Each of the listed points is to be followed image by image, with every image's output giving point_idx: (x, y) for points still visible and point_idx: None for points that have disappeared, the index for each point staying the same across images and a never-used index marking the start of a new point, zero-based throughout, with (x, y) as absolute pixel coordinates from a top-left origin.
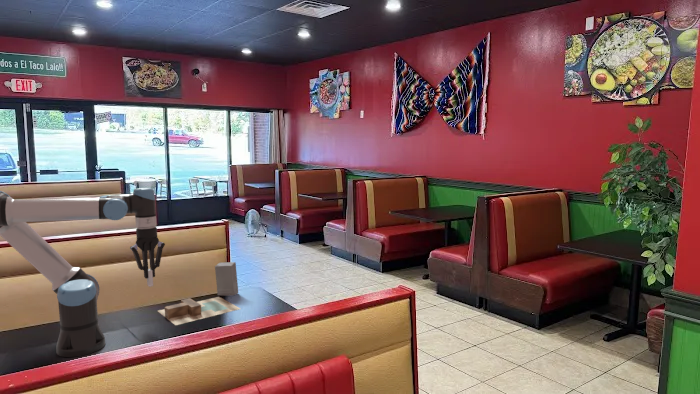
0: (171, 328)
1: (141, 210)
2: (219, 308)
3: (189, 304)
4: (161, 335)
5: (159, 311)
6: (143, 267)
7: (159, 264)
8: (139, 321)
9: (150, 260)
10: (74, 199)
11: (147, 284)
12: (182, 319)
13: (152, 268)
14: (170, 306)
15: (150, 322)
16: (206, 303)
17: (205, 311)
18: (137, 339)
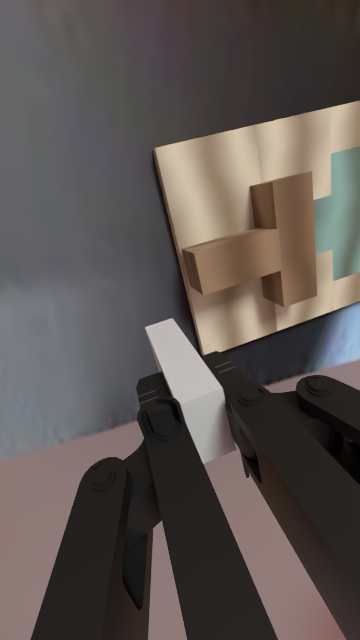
0: None
1: None
2: (355, 252)
3: (286, 269)
4: None
5: (164, 166)
6: (155, 516)
7: (347, 450)
8: (77, 226)
9: (301, 535)
10: None
11: (147, 334)
12: (231, 312)
13: (247, 468)
14: (217, 260)
15: (123, 260)
16: (344, 162)
17: None
18: (87, 404)
